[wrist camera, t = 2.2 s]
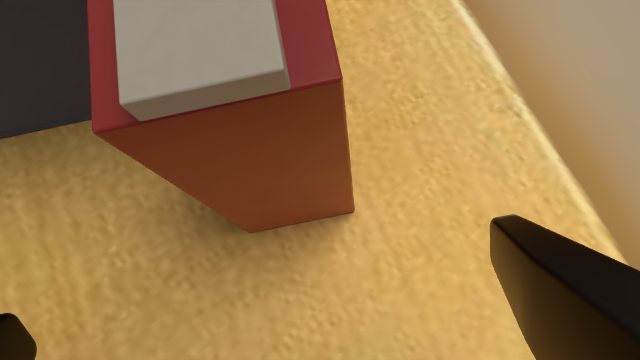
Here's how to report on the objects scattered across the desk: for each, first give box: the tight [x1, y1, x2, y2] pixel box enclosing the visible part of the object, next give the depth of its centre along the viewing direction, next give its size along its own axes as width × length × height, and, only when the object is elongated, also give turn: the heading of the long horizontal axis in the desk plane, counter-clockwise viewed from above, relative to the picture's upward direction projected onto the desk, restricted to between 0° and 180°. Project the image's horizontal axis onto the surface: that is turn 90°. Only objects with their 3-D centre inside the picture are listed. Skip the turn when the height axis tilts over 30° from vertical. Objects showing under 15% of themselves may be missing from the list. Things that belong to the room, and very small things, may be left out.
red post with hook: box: [87, 0, 355, 233], centre depth 15 cm, size 8×5×13 cm, turn 11°
